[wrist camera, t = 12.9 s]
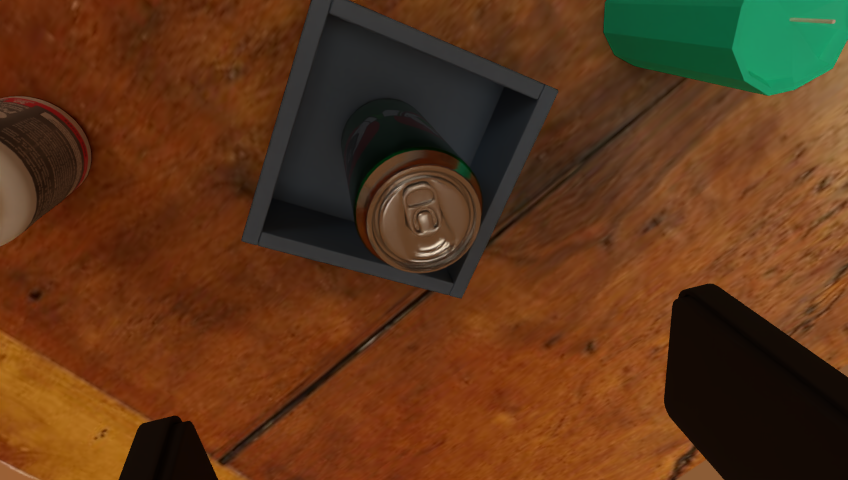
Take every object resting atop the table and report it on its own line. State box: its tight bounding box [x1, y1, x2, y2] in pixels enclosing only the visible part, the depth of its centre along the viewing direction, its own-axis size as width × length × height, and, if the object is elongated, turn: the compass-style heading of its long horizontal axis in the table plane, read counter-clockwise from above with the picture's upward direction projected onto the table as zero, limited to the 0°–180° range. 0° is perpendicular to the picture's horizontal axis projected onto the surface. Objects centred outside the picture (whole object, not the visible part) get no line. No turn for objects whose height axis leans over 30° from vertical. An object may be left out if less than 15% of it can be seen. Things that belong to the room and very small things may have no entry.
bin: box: [241, 0, 558, 298], centre depth 28 cm, size 12×12×6 cm
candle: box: [603, 0, 848, 96], centre depth 25 cm, size 6×6×12 cm
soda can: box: [341, 98, 483, 273], centre depth 25 cm, size 5×5×12 cm
